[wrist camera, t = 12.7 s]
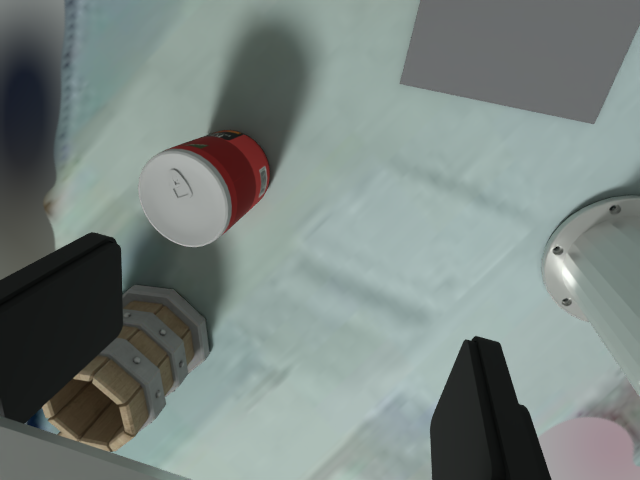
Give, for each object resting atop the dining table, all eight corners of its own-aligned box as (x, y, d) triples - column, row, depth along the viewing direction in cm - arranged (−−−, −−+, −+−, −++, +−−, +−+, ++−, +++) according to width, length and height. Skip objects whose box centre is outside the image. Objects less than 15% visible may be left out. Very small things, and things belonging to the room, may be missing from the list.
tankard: (151, 266, 49) (52, 343, 36) (228, 338, 51) (161, 437, 38) (75, 347, 58) (-29, 435, 44) (144, 406, 59) (64, 508, 46)
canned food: (240, 113, 40) (183, 130, 30) (288, 182, 42) (248, 220, 32) (186, 155, 43) (117, 183, 33) (232, 218, 45) (180, 263, 35)
